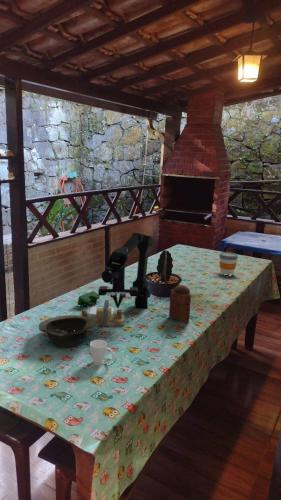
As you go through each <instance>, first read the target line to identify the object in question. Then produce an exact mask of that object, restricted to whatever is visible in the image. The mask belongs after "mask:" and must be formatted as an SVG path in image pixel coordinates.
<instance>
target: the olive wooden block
mask: <svg viewBox="0 0 281 500" xmlns="http://www.w3.org/2000/svg"><path fill="white" fill-rule="evenodd" d="M111 308H112V307H109V308H108V312H107V319H111ZM96 319H103V308H97V311H96Z"/></svg>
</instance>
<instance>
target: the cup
mask: <svg viewBox="0 0 281 500" xmlns="http://www.w3.org/2000/svg"><path fill="white" fill-rule="evenodd" d="M89 348H90V354H91V359H92V360H91V361H92V364H93V365H95V366H101V365H108V364H109V363H111V362H112V361H113V360H114V358H115V354H114V351H113V350H112V348H110V347H108V342H107V341H105V340H104V339H94V340H91V341H90V342H89ZM107 351H109V352H110V353H111V357H112V358H111V360H109V361H107V362H104V361H105V357H106V352H107Z"/></svg>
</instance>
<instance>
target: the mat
mask: <svg viewBox="0 0 281 500" xmlns="http://www.w3.org/2000/svg"><path fill="white" fill-rule="evenodd" d="M97 308H104V306H103V307H101V306H90V309H89V313H88V314H96V311H97ZM110 308H111V314H114V310H115V309H114V307H110Z"/></svg>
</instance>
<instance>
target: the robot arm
mask: <svg viewBox="0 0 281 500" xmlns="http://www.w3.org/2000/svg"><path fill="white" fill-rule="evenodd" d="M153 244H154V238H153V237H152V235H148V234H143V233H142V232H141V233H140V232H132V233H131V236H130V237H129V238H128V239H127V241H126V242H125V243H123V245H122V246H121V247H118V248H116V249H114V250H113V251H112V252H111V254H110V256H109V259H108V261H107V263H106V267H105V270H103V271H102V272H101V279H102V281H103V282H104V283H105V284H109V285H111V286H112V288H108V286H107V285H106V286H105V285H104V286H101V285H100V286H99V287H98V291H97V294H98V295H100V296H106V295H107V294H110V298H112V300H113V301H114V303H115V306H116V309H119V308H120V305H121V304H122V301H123V299H125V298H126V296H127V294H129V295H130V297H134V306H135V308H136V309H148V307H149V306H148V300H149V298H151V295H152V291H151V290H150V288H149V282H148V279H147V272H148V271H147V270H148V262H149V261H148V260H149V252H150V250H151V249H152V248H153ZM135 248H137V249H138V260H137V261H138V262H137V274H136V278H135V280H134V281H133V282H132V286H130V287H129V289H128V288H127V289H126V288H125V278H126V275H125V274H126V268H127V267H128V265H127V262H128V260H129V259H130V254H131V253H132V252H133V250H134V249H135ZM118 294H119V296H118Z"/></svg>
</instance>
